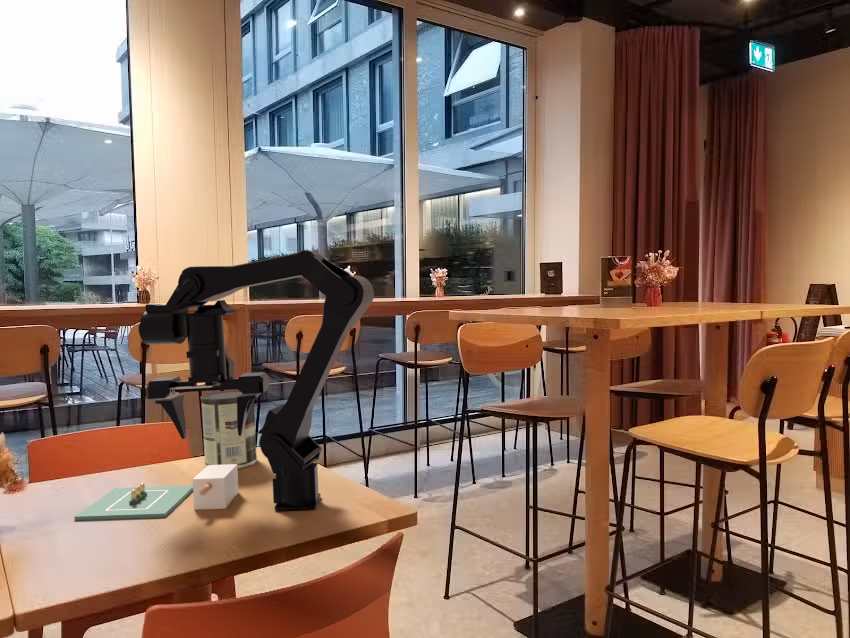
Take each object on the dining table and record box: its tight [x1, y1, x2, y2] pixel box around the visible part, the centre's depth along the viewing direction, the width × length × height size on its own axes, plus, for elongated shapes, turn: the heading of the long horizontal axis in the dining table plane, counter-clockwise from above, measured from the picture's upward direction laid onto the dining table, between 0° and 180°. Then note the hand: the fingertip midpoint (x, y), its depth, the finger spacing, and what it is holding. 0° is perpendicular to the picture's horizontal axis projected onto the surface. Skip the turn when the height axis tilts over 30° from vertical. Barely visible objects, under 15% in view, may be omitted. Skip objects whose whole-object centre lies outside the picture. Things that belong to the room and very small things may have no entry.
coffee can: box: [200, 389, 258, 470], centre depth 132 cm, size 10×10×14 cm
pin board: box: [73, 482, 193, 521], centre depth 109 cm, size 14×14×3 cm
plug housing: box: [192, 464, 239, 511], centre depth 107 cm, size 5×12×5 cm, turn 1°
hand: (212, 436), depth 108 cm, fingers open, 9 cm apart
